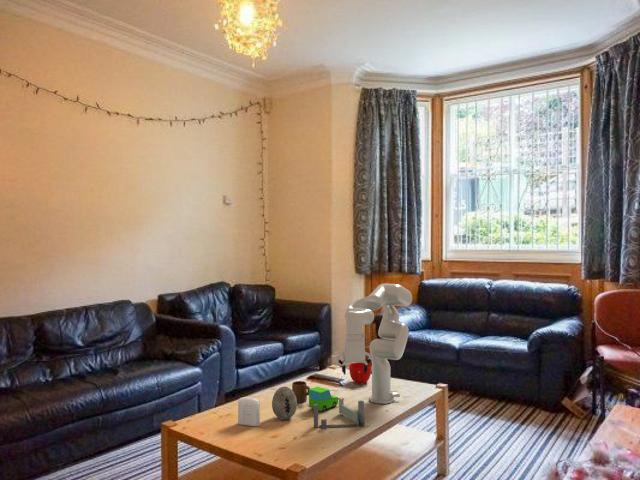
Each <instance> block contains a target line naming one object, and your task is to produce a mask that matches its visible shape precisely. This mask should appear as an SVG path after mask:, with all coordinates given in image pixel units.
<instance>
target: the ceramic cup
mask: <svg viewBox="0 0 640 480" xmlns="http://www.w3.org/2000/svg"><path fill="white" fill-rule="evenodd" d="M363 364H364V362H351V363H350V364H349V365H348V370H349V377H350V378H351V380H352V381H353V382H354V383H355V384H356V385H364V384H366V383H367V382H368V381H369V379H370V378H371V376H372V364H370V363H368V365H367V371H366V374H364V372H363Z"/></svg>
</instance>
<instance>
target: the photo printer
mask: <svg viewBox="0 0 640 480" xmlns="http://www.w3.org/2000/svg"><path fill="white" fill-rule="evenodd" d="M260 404H261V402H260V400H259V399H257V398H255V397H252V396H244V397H240V398H239V399H238V402H237V413H238V414H237V417H238V418H237V419H238V420H237V421H238V423H237V424H238V425H241V426H251V427H259V426H260V423H261V421H260V420H261V417H260V416H261V413H260V412H261V409H260V408H261V407H260V406H261V405H260Z"/></svg>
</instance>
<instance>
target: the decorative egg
mask: <svg viewBox="0 0 640 480" xmlns="http://www.w3.org/2000/svg"><path fill="white" fill-rule="evenodd" d="M272 396H273V397H272V403H271V407H272V412H273V414H274V415H275V416H276V417H277V418H278V419H281V420H289V419H291V418H292V417H294V415H295V414H296V411H297V408H298V403H297V399H296V396H295V394H294V392H293V391H292V388H290V387H288V386H281V387H278V388H277V389H276V390H275V392H274V394H273V395H272Z"/></svg>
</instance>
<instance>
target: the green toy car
mask: <svg viewBox="0 0 640 480" xmlns="http://www.w3.org/2000/svg"><path fill="white" fill-rule="evenodd" d="M338 398H339V397H338V396H335V395H332V394H331V391H330V389H328V388H325V387H320V386H315V387H312V388H310V389H309V395H308V408H311V409H312V410H313V404H318V411H320V412H323V413H324V412H326V410H327V409H329V408H333V409H334V408H336V407H337V405H339V400H338Z"/></svg>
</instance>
